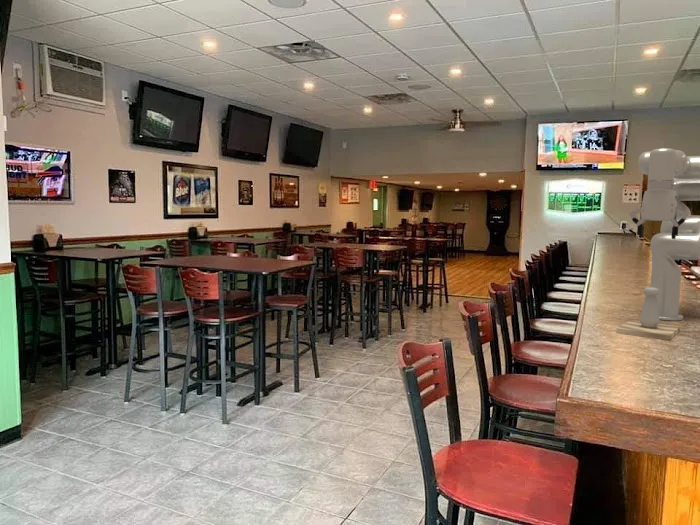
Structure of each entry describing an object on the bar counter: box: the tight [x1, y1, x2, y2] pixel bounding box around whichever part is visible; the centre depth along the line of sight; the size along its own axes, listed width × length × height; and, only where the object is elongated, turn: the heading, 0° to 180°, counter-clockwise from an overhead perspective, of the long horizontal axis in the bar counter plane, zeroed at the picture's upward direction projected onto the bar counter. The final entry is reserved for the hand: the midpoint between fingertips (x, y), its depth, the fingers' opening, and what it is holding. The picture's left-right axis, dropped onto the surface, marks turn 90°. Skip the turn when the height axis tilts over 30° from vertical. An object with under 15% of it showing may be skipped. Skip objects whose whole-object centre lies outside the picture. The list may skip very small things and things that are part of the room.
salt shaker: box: [638, 286, 661, 328], centre depth 171 cm, size 6×6×13 cm
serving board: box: [616, 319, 681, 341], centre depth 172 cm, size 18×15×2 cm
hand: (656, 238), depth 176 cm, fingers open, 9 cm apart
